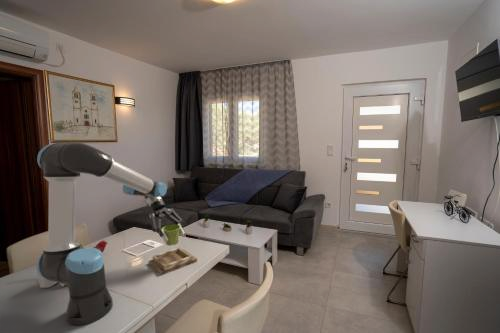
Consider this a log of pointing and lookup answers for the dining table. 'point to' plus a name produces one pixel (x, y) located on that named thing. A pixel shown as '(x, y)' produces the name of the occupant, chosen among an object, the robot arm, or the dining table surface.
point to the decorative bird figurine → (101, 246)
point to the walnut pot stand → (171, 260)
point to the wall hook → (46, 282)
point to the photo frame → (148, 242)
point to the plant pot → (172, 234)
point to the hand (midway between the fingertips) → (175, 237)
